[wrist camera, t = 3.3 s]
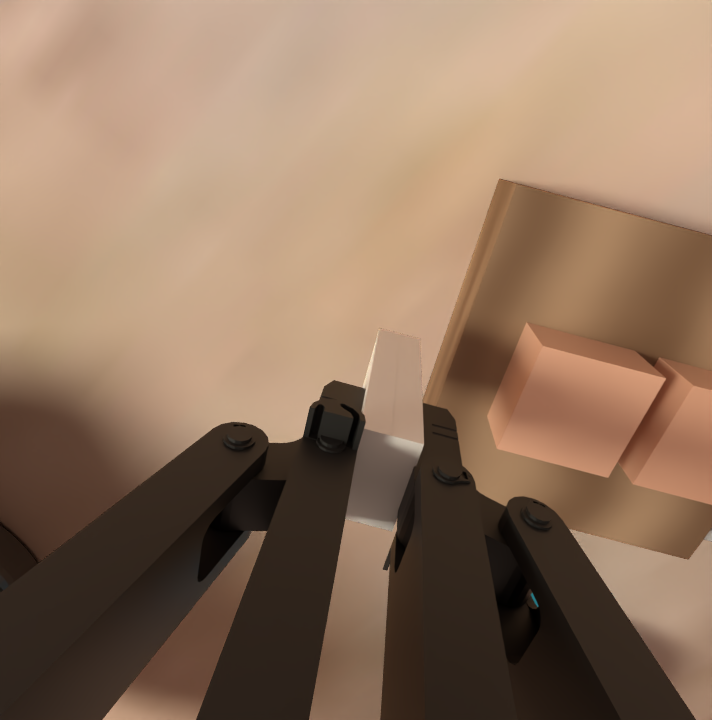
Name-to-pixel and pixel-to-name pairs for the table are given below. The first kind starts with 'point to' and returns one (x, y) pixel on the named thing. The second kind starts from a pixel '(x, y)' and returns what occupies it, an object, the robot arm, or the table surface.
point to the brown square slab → (582, 318)
